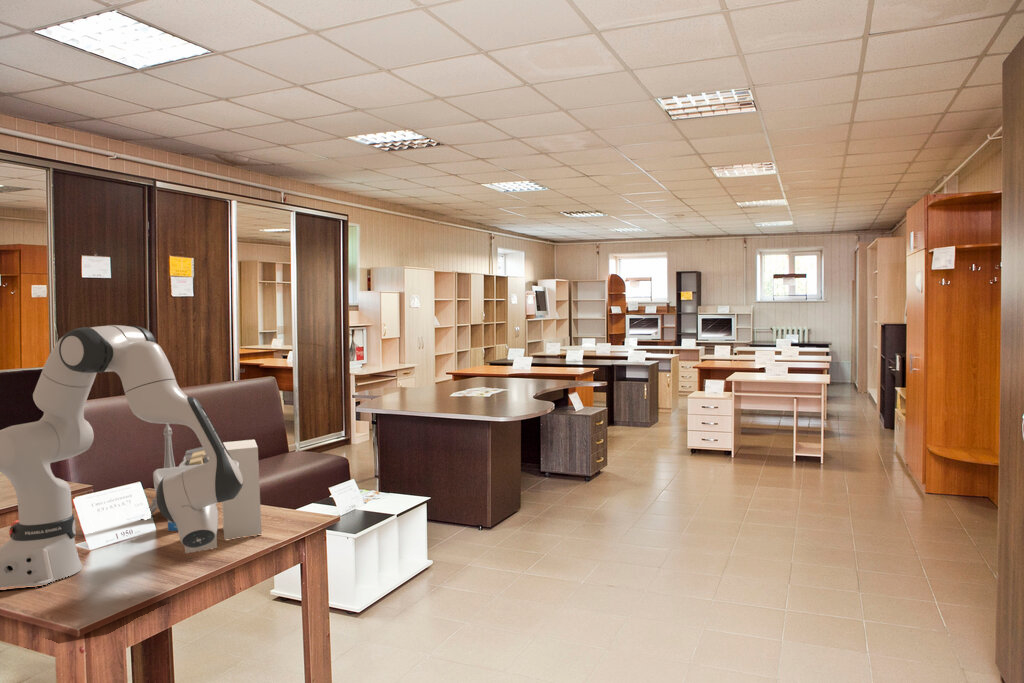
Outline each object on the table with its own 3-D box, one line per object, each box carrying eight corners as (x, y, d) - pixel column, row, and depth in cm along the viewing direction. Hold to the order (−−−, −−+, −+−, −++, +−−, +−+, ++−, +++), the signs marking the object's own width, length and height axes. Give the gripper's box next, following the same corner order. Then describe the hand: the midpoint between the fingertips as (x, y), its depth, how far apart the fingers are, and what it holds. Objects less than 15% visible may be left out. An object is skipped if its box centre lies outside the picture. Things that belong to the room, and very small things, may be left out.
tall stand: (224, 540, 194) (220, 450, 193) (223, 527, 207) (219, 442, 206) (261, 535, 198) (257, 447, 197) (258, 522, 211) (254, 439, 210)
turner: (187, 454, 197) (185, 446, 196) (220, 445, 200) (218, 437, 199) (179, 476, 175) (176, 467, 175) (216, 466, 178) (213, 457, 178)
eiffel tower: (139, 520, 217) (134, 427, 216) (167, 508, 230) (163, 420, 229) (176, 521, 215) (171, 427, 213) (202, 509, 228) (198, 420, 227)
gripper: (241, 478, 173) (238, 443, 183) (151, 489, 164) (153, 452, 175) (242, 496, 176) (239, 461, 186) (153, 508, 167) (155, 471, 178)
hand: (196, 457), depth 181 cm, fingers closed on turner, 3 cm apart
